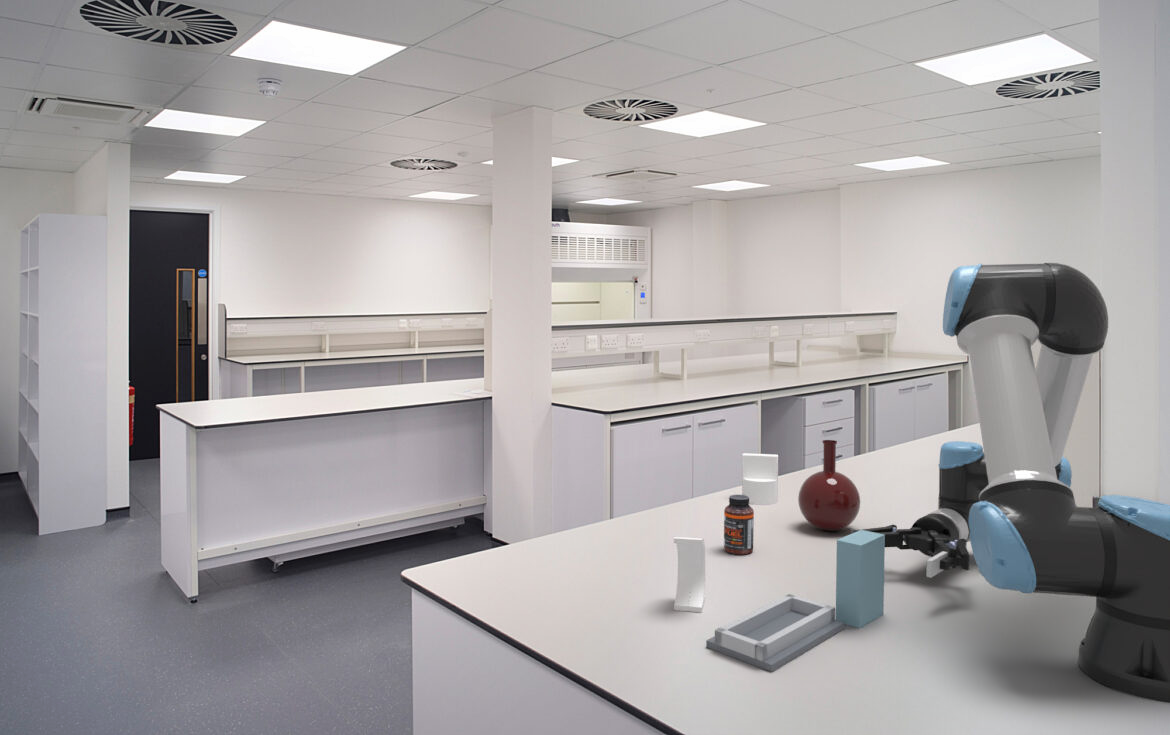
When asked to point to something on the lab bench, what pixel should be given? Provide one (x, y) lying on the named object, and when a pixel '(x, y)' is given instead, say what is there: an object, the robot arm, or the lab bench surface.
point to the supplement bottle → (738, 525)
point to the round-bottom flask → (829, 495)
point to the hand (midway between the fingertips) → (887, 559)
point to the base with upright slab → (760, 478)
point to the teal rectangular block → (860, 578)
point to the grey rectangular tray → (777, 632)
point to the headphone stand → (690, 574)
